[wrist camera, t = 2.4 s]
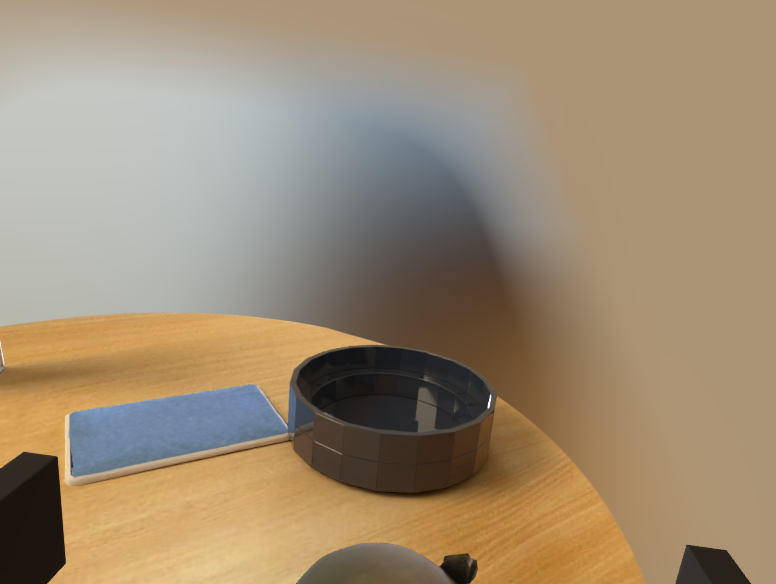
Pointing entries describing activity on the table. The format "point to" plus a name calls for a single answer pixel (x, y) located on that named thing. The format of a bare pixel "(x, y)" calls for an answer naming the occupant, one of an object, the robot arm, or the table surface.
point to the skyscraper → (1, 359)
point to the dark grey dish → (390, 417)
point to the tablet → (167, 432)
